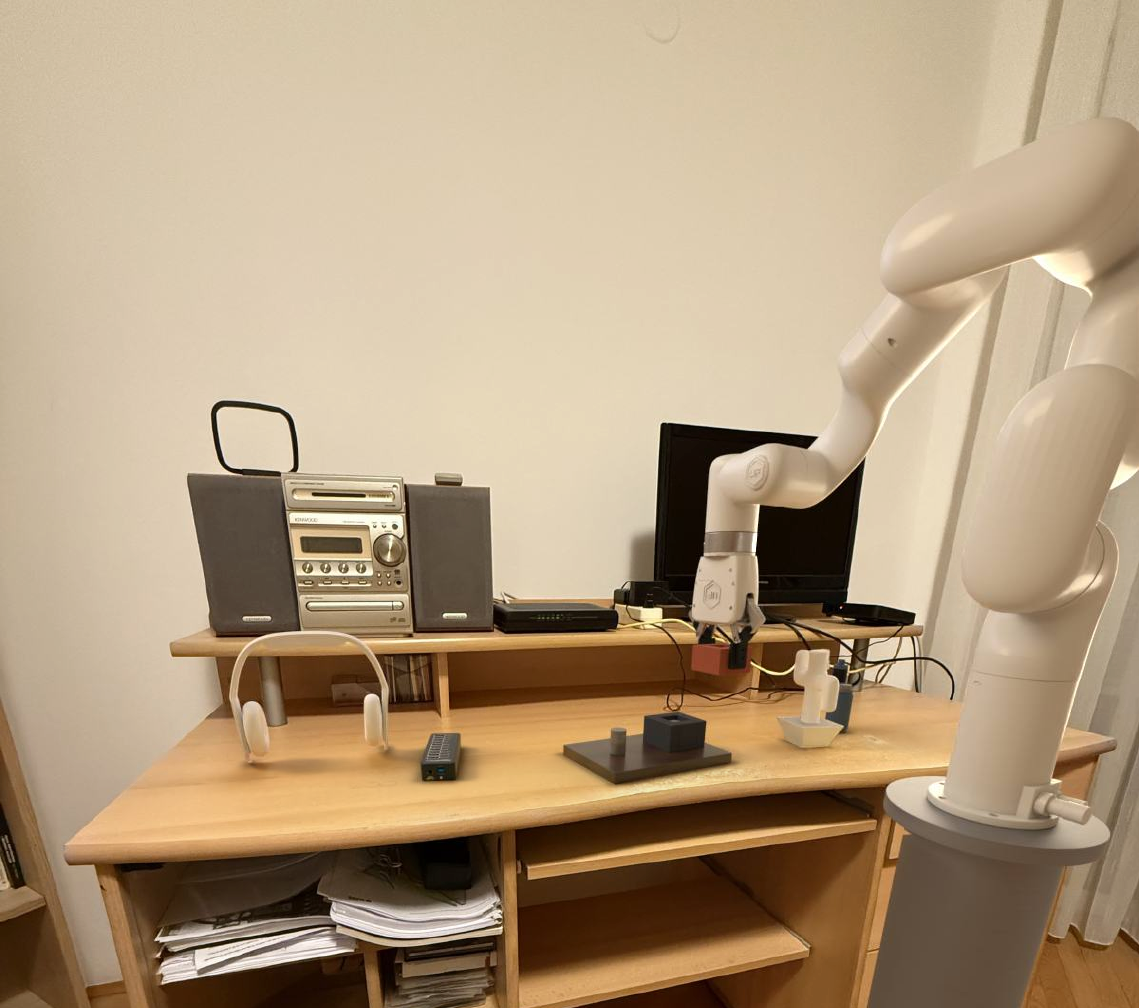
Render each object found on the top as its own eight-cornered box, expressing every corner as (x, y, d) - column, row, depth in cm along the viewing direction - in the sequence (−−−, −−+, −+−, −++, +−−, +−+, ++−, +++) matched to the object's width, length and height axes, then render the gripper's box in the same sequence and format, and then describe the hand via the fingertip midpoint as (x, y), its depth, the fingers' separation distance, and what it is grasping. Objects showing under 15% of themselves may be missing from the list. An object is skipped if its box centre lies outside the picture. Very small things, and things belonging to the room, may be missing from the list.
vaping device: (834, 725, 108) (845, 658, 104) (849, 733, 103) (861, 663, 99) (821, 725, 108) (831, 658, 104) (835, 733, 103) (846, 663, 99)
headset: (237, 774, 78) (214, 636, 73) (244, 758, 84) (223, 629, 79) (395, 760, 85) (385, 632, 79) (391, 746, 91) (381, 626, 86)
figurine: (804, 753, 91) (819, 654, 87) (769, 736, 100) (781, 645, 95) (845, 750, 93) (861, 653, 88) (807, 734, 102) (820, 645, 97)
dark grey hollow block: (704, 747, 88) (706, 720, 87) (669, 753, 85) (671, 725, 84) (676, 736, 94) (678, 711, 92) (642, 741, 91) (644, 715, 89)
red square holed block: (750, 672, 95) (752, 646, 93) (718, 675, 92) (720, 649, 90) (721, 667, 100) (723, 642, 99) (690, 669, 97) (692, 644, 96)
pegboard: (731, 762, 86) (734, 729, 85) (614, 784, 77) (616, 747, 76) (670, 738, 98) (672, 708, 96) (563, 754, 89) (563, 721, 87)
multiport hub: (461, 747, 91) (460, 732, 91) (456, 779, 78) (455, 763, 77) (431, 747, 91) (430, 733, 90) (421, 780, 77) (420, 763, 76)
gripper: (673, 548, 96) (668, 660, 101) (754, 543, 81) (742, 675, 86) (710, 549, 99) (702, 658, 104) (793, 545, 85) (779, 671, 90)
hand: (720, 664), depth 95 cm, fingers closed on red square holed block, 6 cm apart
